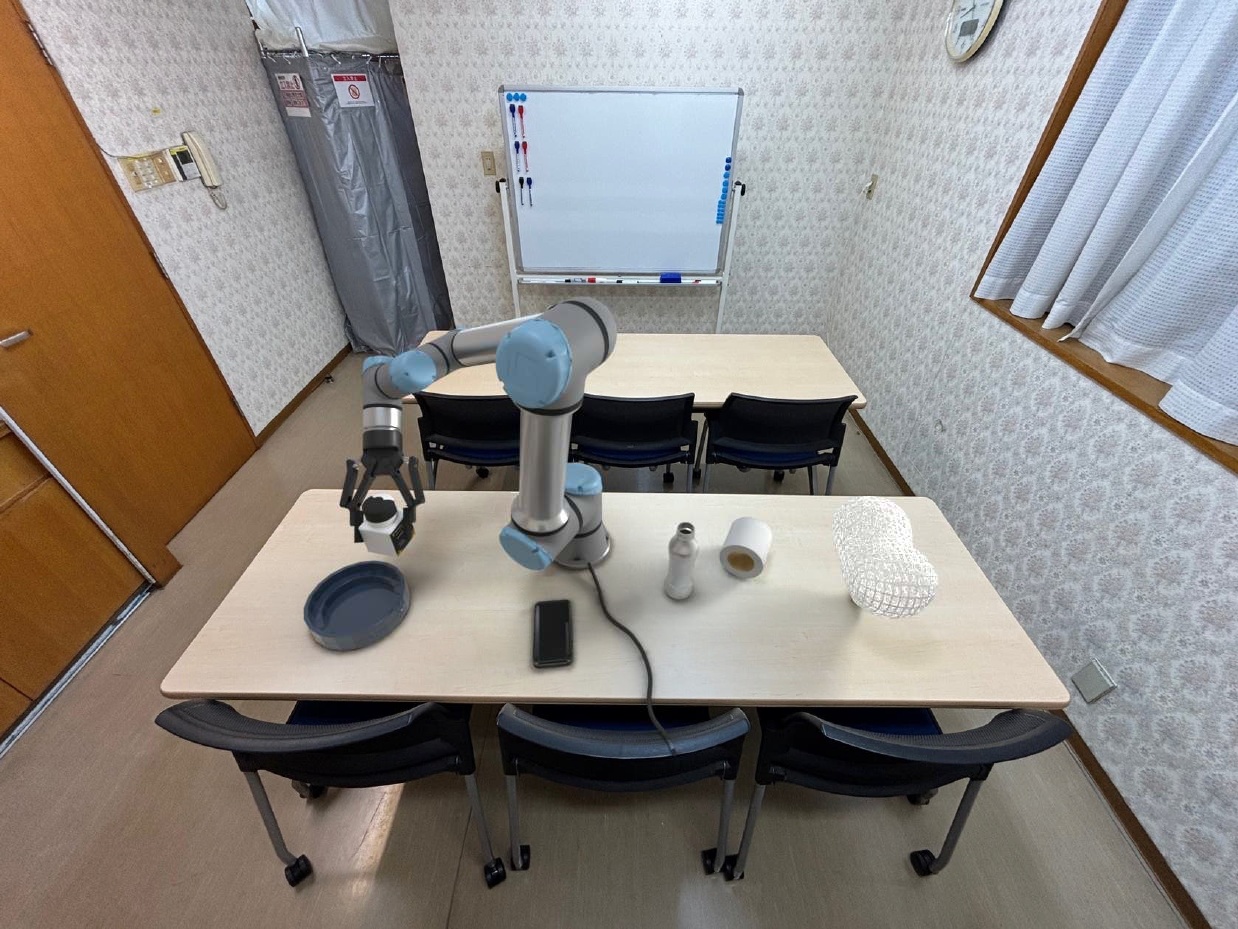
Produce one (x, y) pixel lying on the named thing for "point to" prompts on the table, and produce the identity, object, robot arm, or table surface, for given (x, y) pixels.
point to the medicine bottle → (383, 526)
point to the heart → (882, 559)
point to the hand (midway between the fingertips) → (383, 541)
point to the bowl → (357, 605)
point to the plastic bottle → (681, 562)
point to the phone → (552, 634)
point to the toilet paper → (746, 547)
